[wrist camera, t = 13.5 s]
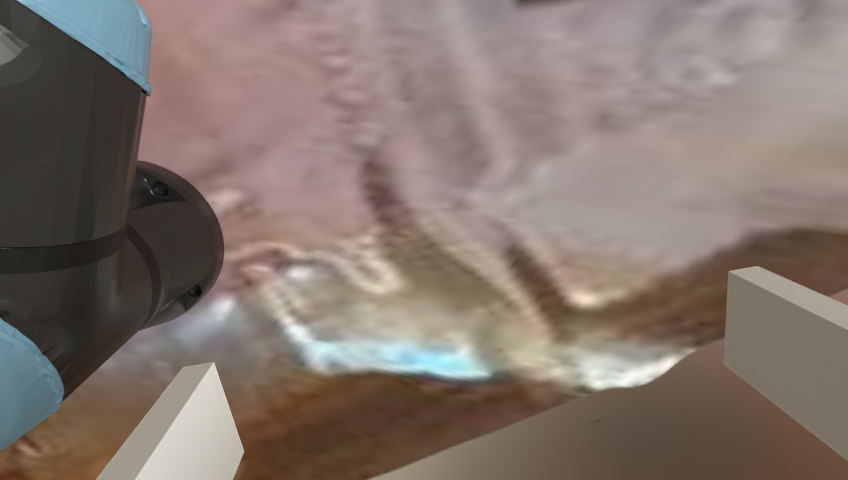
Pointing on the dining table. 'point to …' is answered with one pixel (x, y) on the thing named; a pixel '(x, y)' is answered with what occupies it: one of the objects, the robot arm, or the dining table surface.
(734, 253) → the dining table surface
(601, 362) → the dining table surface
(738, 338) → the robot arm
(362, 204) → the dining table surface
